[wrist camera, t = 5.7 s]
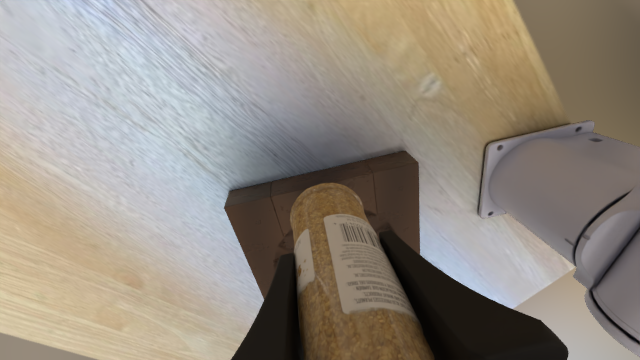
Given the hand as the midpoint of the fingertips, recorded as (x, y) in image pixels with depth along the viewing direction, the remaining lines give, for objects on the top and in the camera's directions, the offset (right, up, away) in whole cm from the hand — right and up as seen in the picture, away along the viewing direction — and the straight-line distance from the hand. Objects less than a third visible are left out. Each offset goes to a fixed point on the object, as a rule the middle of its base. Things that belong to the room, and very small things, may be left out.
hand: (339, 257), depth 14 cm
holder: (0, -2, +13) cm, 13 cm away
